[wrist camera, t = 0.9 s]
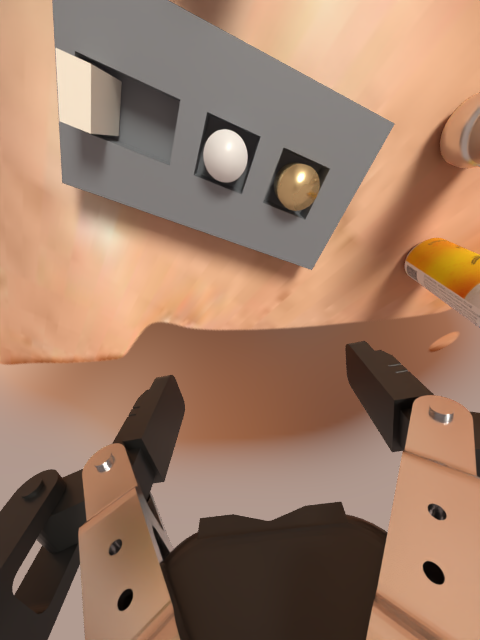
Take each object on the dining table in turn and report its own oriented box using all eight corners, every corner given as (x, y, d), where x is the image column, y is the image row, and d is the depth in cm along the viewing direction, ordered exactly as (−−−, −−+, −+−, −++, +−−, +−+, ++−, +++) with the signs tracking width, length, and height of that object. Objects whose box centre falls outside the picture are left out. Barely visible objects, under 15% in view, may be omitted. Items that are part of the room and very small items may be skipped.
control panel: (81, 178, 29) (62, 182, 26) (78, -31, 20) (48, -65, 17) (304, 258, 35) (311, 269, 32) (374, 126, 27) (394, 123, 23)
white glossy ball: (202, 169, 27) (198, 172, 24) (212, 123, 24) (210, 120, 21) (238, 184, 28) (238, 189, 25) (251, 141, 25) (254, 140, 22)
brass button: (267, 196, 28) (272, 202, 25) (283, 155, 26) (289, 157, 23) (299, 209, 29) (307, 216, 26) (317, 171, 27) (327, 174, 24)
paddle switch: (94, 126, 25) (59, 121, 20) (94, 69, 23) (55, 47, 18) (118, 135, 25) (90, 133, 20) (121, 81, 23) (90, 63, 18)
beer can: (449, 260, 36) (560, 319, 24) (407, 283, 38) (489, 347, 26) (441, 227, 33) (562, 274, 21) (396, 253, 35) (483, 309, 23)
